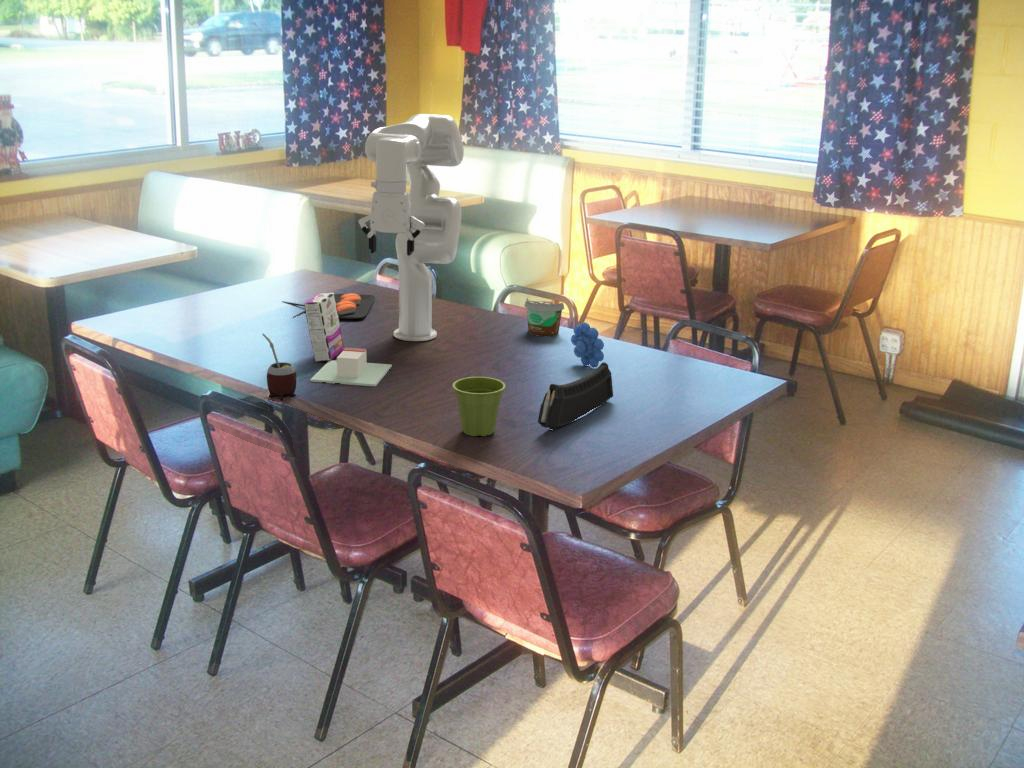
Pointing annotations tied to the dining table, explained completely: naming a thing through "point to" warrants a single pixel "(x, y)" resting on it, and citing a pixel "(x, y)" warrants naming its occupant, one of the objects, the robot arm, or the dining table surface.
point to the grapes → (587, 344)
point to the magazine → (575, 398)
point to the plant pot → (478, 404)
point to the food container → (543, 317)
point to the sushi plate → (349, 305)
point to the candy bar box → (324, 327)
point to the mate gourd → (280, 377)
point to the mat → (367, 378)
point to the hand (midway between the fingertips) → (391, 253)
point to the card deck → (351, 362)
